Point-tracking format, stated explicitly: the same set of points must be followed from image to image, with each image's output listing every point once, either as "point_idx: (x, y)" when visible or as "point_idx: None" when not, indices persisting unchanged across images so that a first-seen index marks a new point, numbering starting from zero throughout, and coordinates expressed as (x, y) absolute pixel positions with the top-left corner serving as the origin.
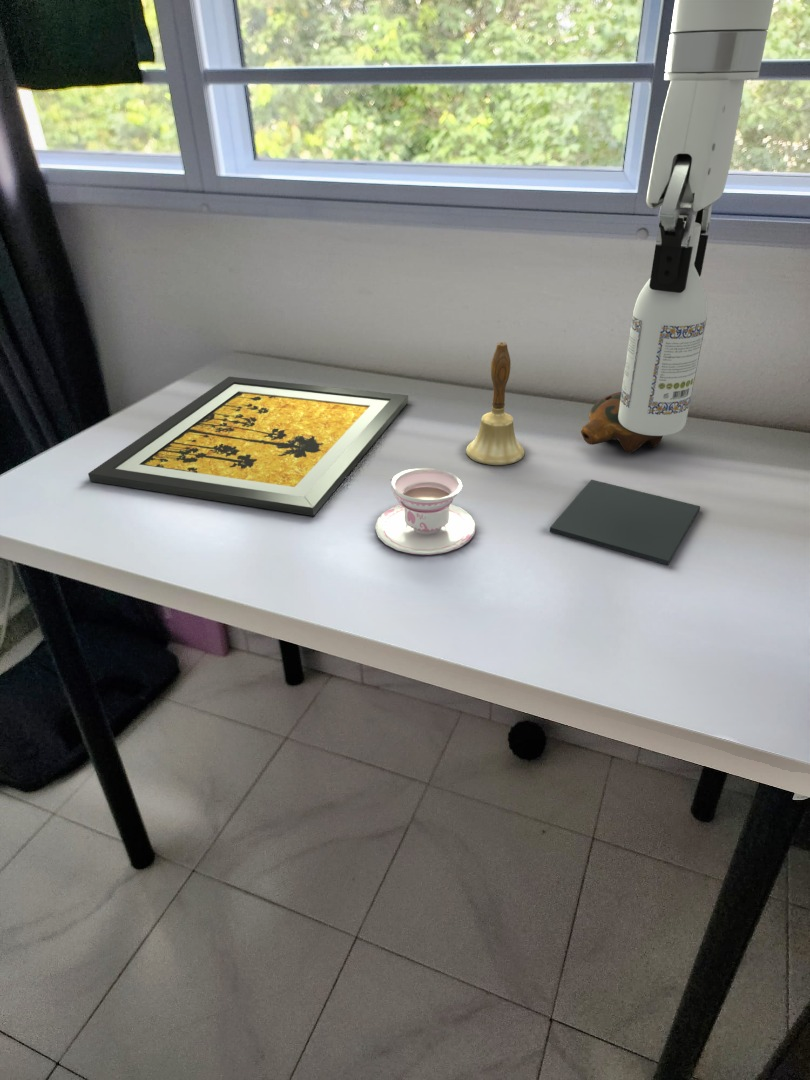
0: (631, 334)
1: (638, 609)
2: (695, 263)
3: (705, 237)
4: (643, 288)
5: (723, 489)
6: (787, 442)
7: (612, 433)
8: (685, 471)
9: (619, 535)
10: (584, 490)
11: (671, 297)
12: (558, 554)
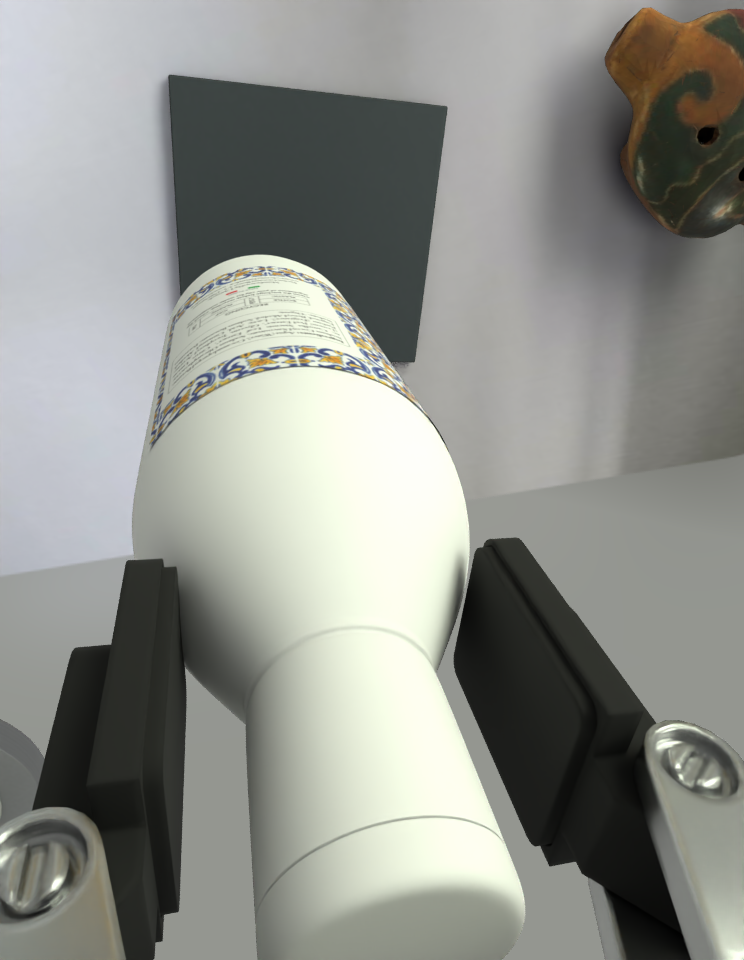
0: (205, 361)
1: (7, 346)
2: (479, 705)
3: (547, 852)
4: (256, 472)
5: (509, 379)
6: (722, 439)
7: (633, 111)
8: (564, 299)
9: (223, 247)
10: (385, 106)
11: None
12: (87, 132)
